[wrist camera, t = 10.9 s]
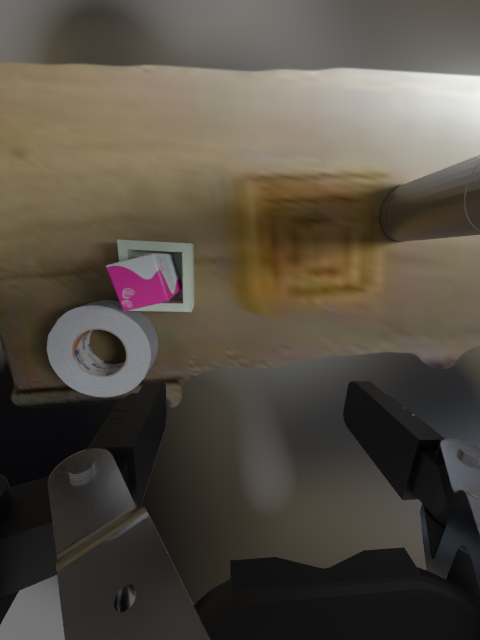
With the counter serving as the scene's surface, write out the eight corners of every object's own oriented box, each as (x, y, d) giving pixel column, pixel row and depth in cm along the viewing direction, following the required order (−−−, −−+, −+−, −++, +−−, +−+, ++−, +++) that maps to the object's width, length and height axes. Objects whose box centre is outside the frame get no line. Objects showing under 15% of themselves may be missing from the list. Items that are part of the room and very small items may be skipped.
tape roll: (45, 337, 40) (21, 348, 35) (112, 280, 39) (98, 283, 34) (113, 397, 44) (101, 415, 39) (176, 347, 43) (171, 358, 38)
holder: (193, 245, 38) (191, 243, 34) (194, 305, 41) (191, 311, 36) (129, 242, 37) (117, 239, 32) (133, 304, 40) (122, 310, 35)
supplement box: (136, 262, 37) (103, 263, 26) (172, 253, 37) (155, 251, 26) (148, 297, 39) (122, 312, 28) (183, 288, 39) (171, 300, 28)
